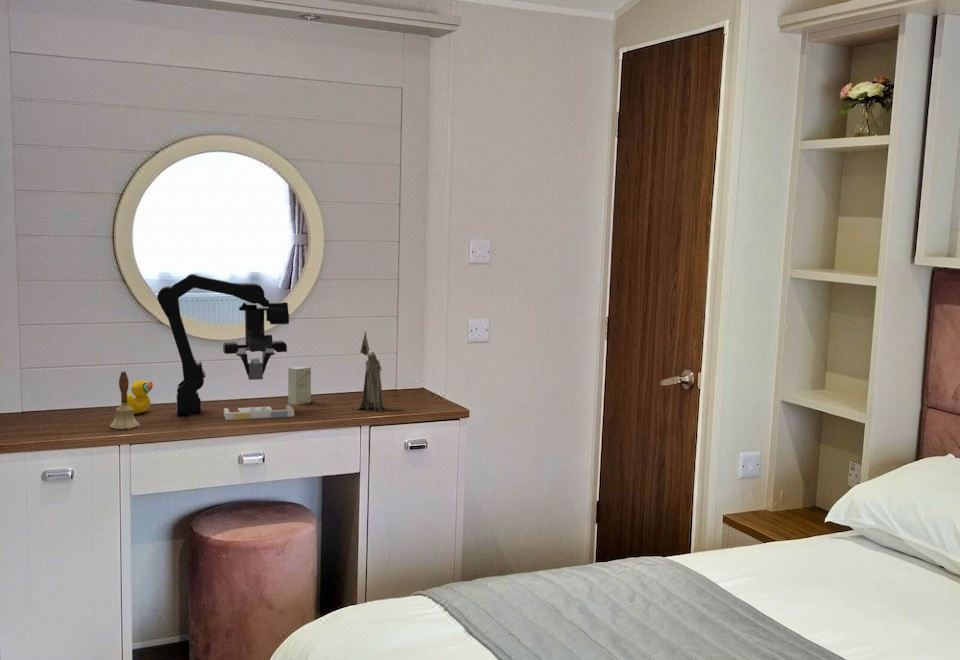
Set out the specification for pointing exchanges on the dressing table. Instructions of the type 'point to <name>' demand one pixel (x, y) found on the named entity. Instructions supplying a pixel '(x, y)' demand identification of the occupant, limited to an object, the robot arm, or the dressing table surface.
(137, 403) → the duckling
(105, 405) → the dressing table surface
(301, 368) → the skincare box
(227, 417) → the socket board
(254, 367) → the plug
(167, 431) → the dressing table surface
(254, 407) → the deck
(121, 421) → the hand bell
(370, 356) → the wizard figurine
